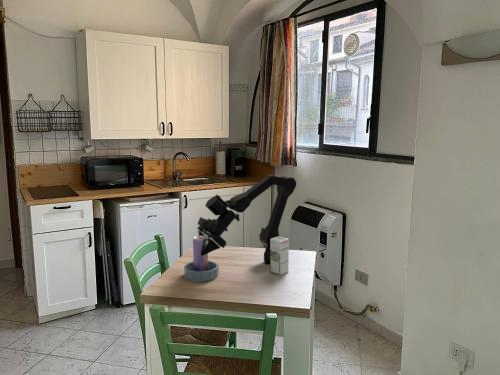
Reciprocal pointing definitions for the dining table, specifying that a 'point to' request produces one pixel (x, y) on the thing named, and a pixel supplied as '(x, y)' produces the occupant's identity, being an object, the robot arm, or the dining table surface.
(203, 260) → the beverage can
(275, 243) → the syrup box
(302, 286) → the dining table surface
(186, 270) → the bowl
